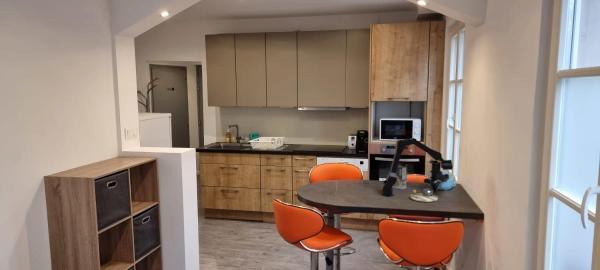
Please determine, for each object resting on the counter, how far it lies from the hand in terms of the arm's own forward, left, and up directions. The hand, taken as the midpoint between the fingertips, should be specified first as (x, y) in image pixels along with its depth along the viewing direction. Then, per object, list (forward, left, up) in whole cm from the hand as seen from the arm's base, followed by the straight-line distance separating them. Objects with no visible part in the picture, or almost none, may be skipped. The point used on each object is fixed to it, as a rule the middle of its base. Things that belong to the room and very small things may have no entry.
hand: (435, 192), depth 273 cm
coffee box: (0, +31, -3) cm, 31 cm away
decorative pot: (+23, +11, -3) cm, 25 cm away
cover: (-8, 0, -1) cm, 8 cm away
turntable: (-12, 0, -3) cm, 13 cm away
